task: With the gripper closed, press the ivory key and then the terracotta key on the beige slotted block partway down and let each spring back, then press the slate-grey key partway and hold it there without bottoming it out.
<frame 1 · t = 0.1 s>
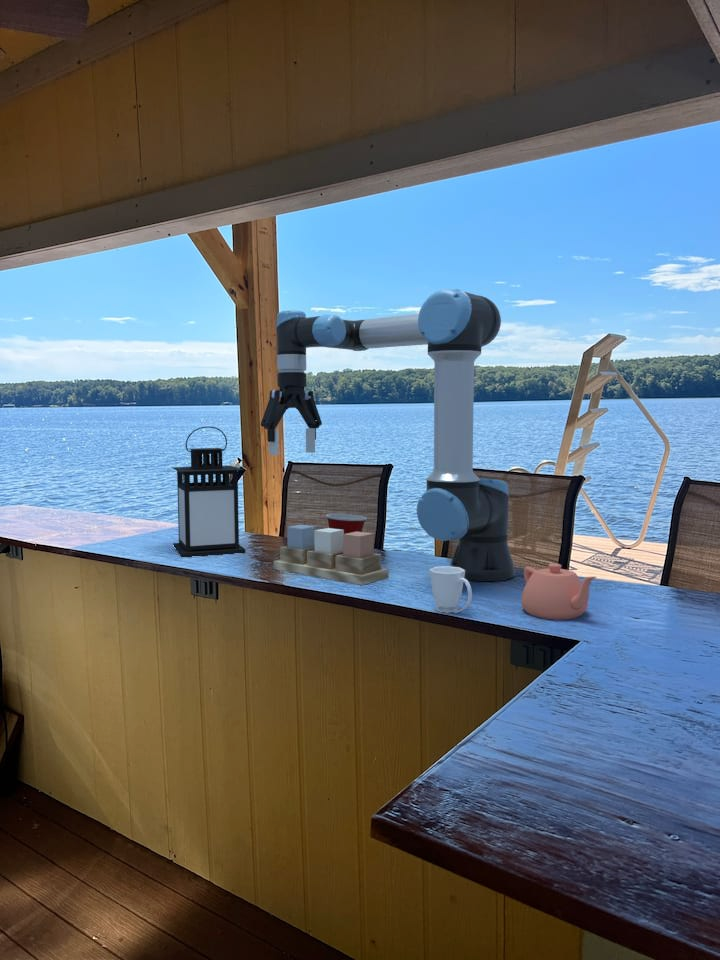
hand: (292, 453, 193), 28 cm above the counter, fingers open, 13 cm apart
teapot: (557, 614, 142), on the counter
ivory key: (329, 542, 177), point 8 cm above the counter, slide at 0.0 cm
plastic cup: (346, 560, 194), on the counter
cup: (452, 612, 143), on the counter
beige slotted block: (329, 573, 178), on the counter
slate key: (301, 538, 183), point 8 cm above the counter, slide at 0.0 cm
lantern: (208, 550, 208), on the counter
terracotta key: (358, 546, 172), point 8 cm above the counter, slide at 0.0 cm
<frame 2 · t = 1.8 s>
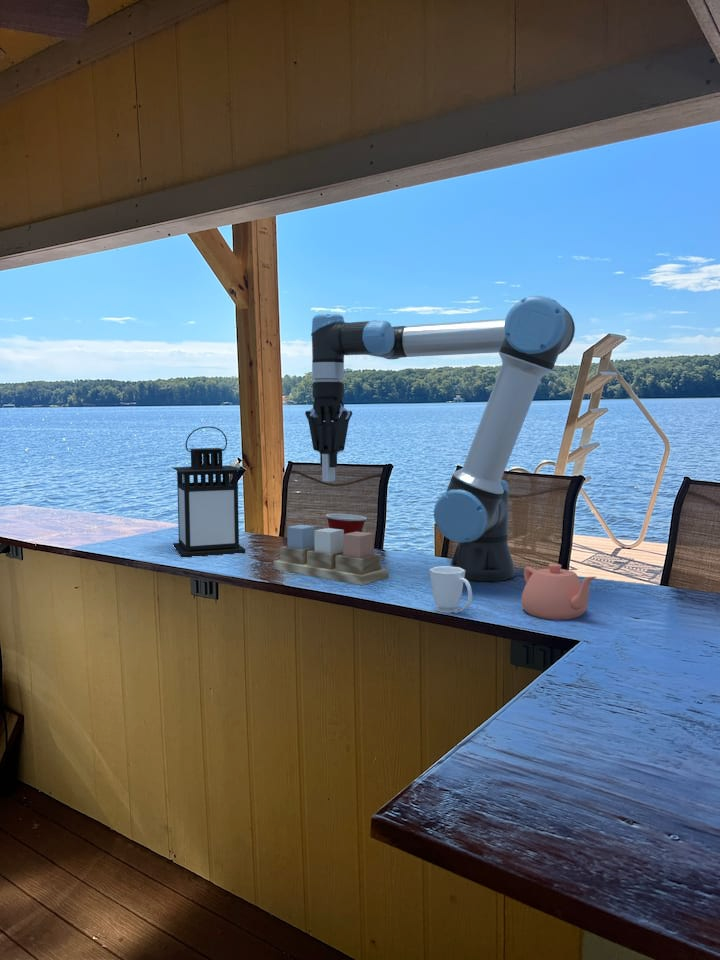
hand: (328, 480, 176), 22 cm above the counter, fingers closed
nothing on the counter moved.
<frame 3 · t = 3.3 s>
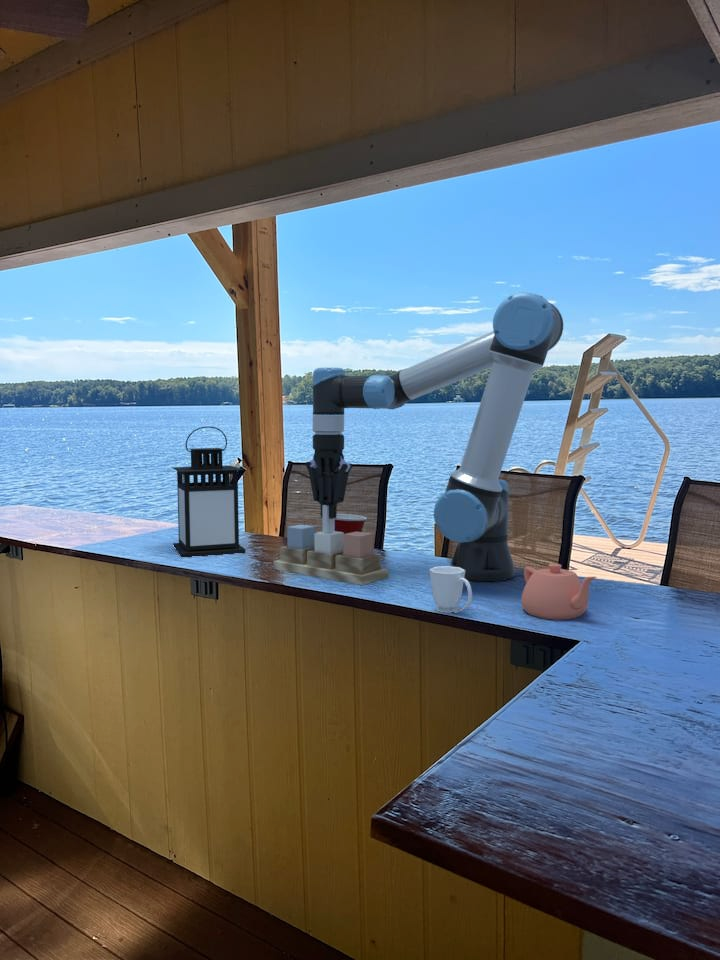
hand: (328, 531, 177), 10 cm above the counter, fingers closed
ivory key: (329, 545, 177), point 7 cm above the counter, slide at 0.6 cm, touching gripper
everything else where it was.
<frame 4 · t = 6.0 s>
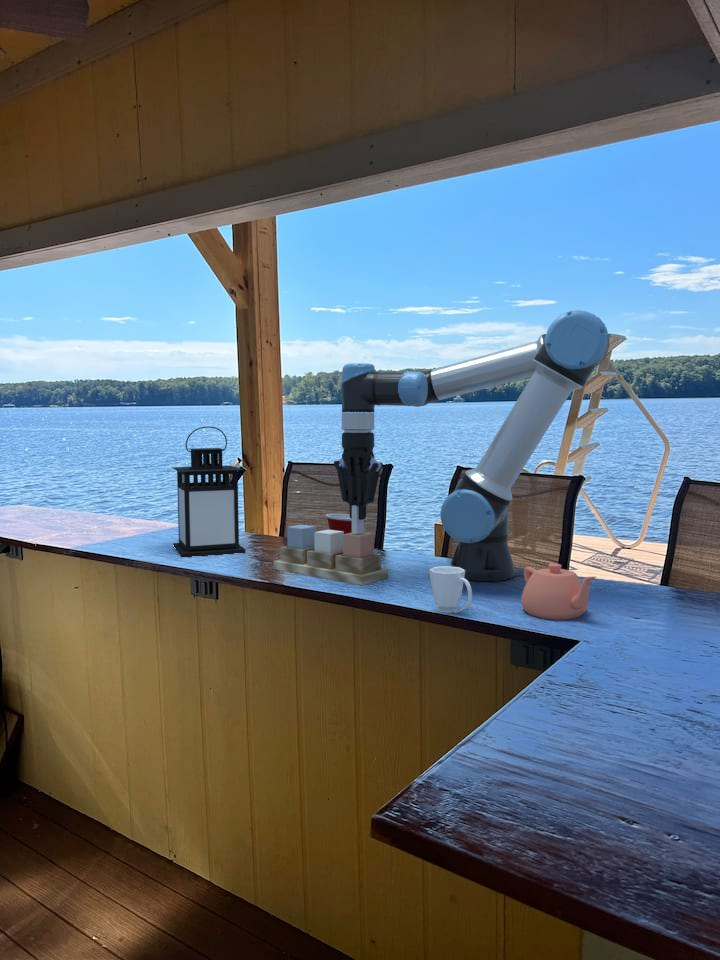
hand: (357, 532, 171), 11 cm above the counter, fingers closed
ivory key: (329, 544, 177), point 7 cm above the counter, slide at 0.4 cm
terracotta key: (358, 546, 172), point 7 cm above the counter, slide at 0.0 cm, touching gripper
everything else where it was.
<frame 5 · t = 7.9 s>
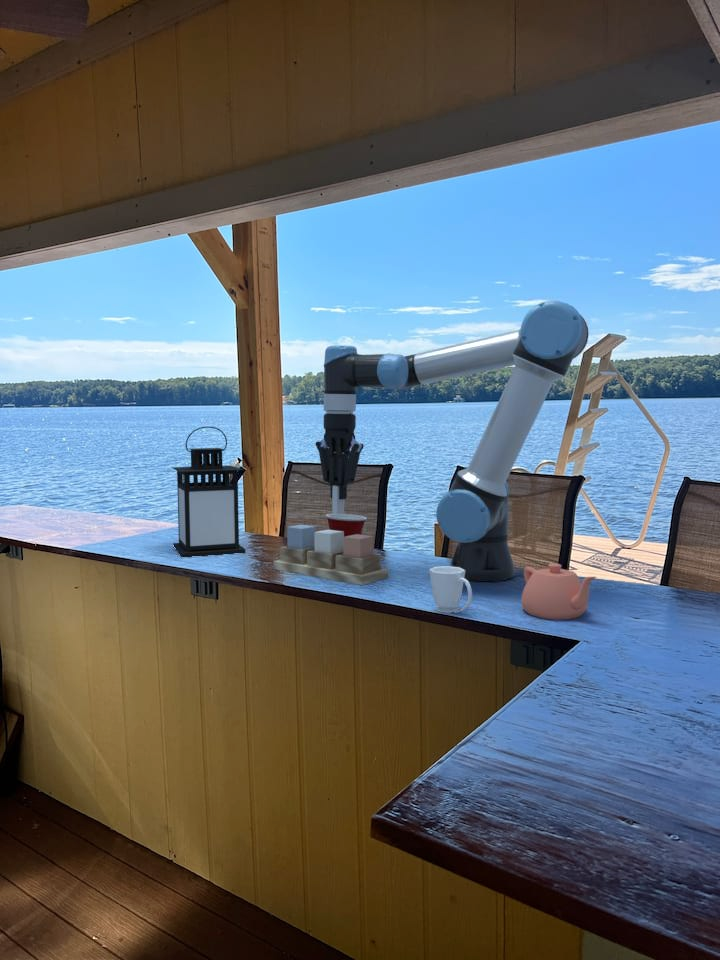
hand: (338, 512, 174), 15 cm above the counter, fingers closed
terracotta key: (358, 549, 172), point 7 cm above the counter, slide at 0.6 cm
everything else where it was.
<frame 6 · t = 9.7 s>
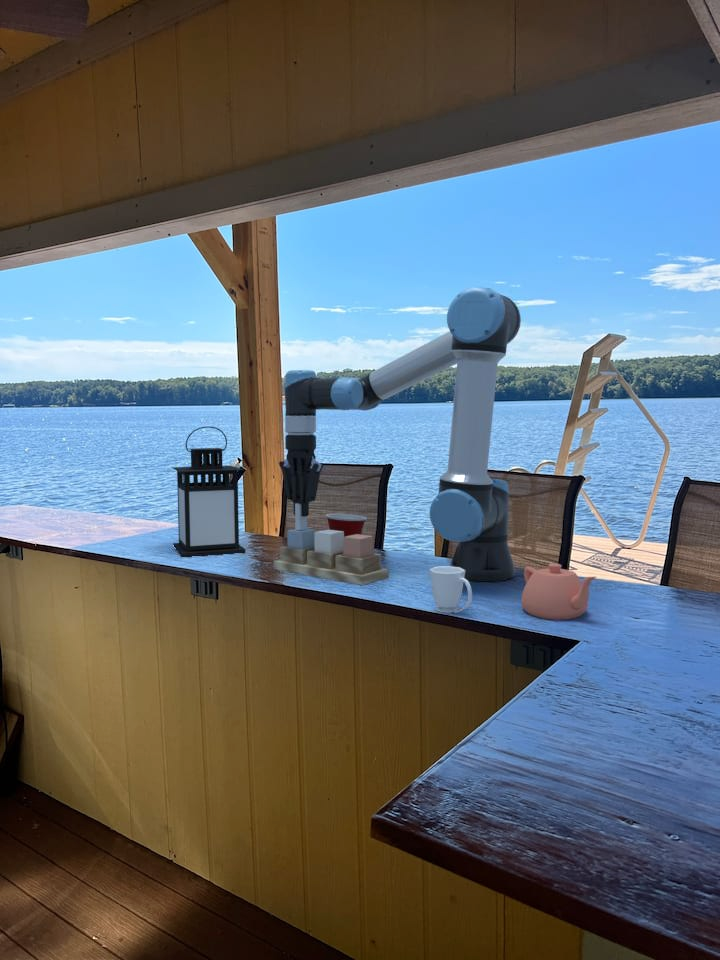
hand: (301, 529, 183), 10 cm above the counter, fingers closed
slate key: (301, 542, 183), point 7 cm above the counter, slide at 0.9 cm, touching gripper
everything else where it was.
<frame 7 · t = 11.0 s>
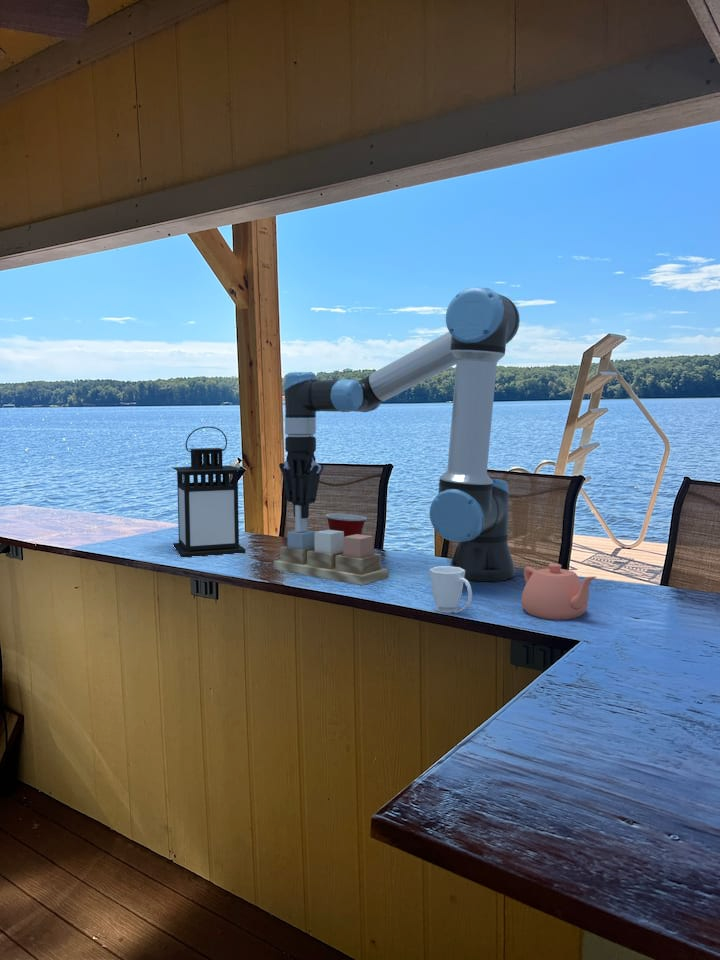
hand: (301, 530, 183), 9 cm above the counter, fingers closed
slate key: (301, 543, 183), point 6 cm above the counter, slide at 1.3 cm, touching gripper
everything else where it was.
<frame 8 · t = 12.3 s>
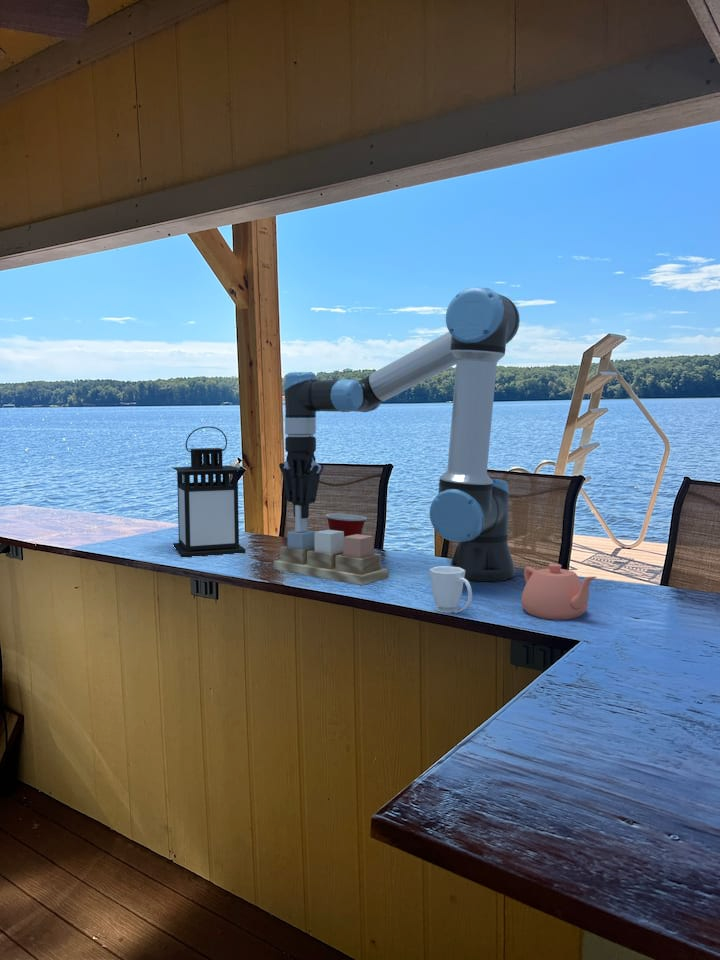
hand: (301, 530, 183), 9 cm above the counter, fingers closed
nothing on the counter moved.
at the end: slate key slide at 1.3 cm; ivory key slide at 0.4 cm; terracotta key slide at 0.6 cm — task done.
